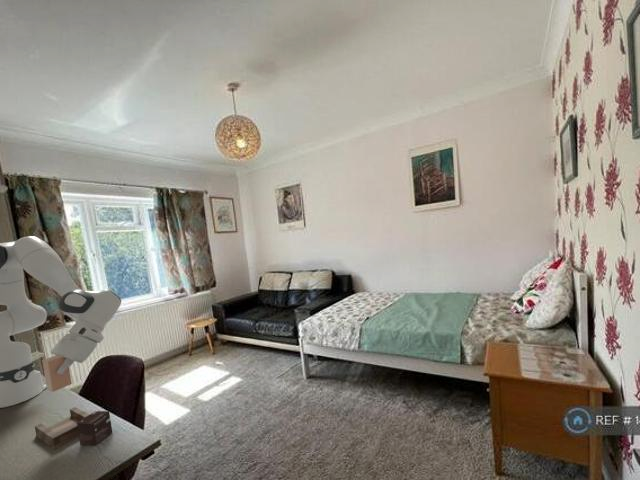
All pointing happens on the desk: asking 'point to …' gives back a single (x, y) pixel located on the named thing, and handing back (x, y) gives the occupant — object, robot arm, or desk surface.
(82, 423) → the box
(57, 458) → the desk surface
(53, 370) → the block
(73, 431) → the cradle
